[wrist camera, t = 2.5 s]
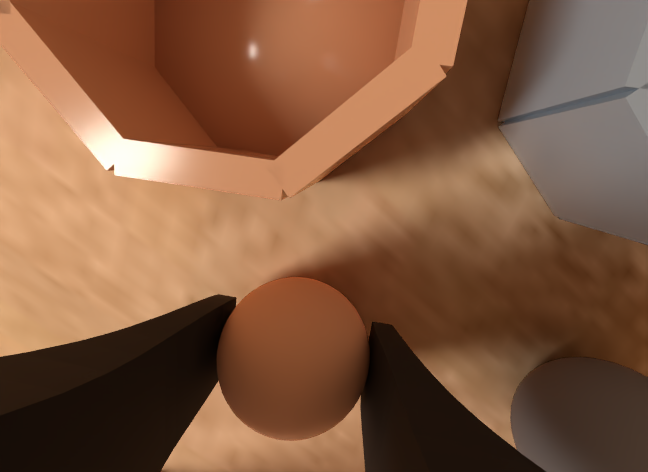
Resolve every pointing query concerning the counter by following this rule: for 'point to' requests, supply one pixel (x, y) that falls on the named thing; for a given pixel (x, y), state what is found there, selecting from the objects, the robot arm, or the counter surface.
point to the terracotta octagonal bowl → (231, 81)
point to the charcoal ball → (582, 417)
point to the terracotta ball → (293, 358)
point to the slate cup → (584, 111)
